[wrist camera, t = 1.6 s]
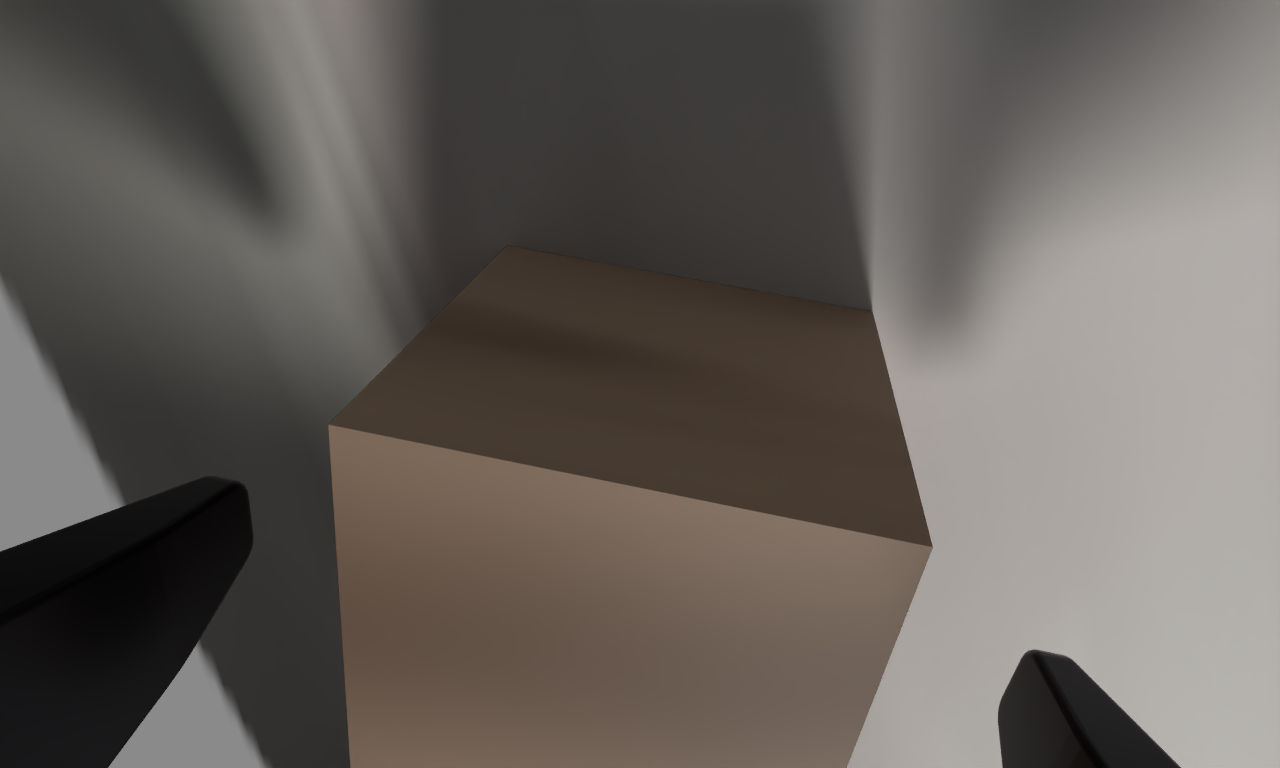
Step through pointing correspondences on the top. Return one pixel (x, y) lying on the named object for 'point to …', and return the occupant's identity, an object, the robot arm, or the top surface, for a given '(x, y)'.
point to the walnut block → (622, 527)
